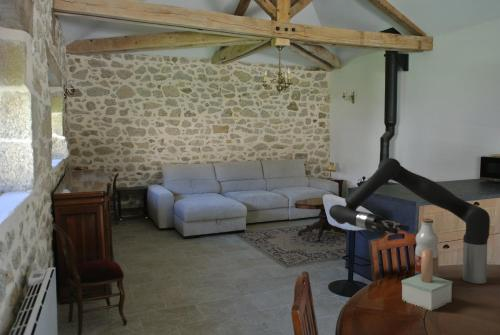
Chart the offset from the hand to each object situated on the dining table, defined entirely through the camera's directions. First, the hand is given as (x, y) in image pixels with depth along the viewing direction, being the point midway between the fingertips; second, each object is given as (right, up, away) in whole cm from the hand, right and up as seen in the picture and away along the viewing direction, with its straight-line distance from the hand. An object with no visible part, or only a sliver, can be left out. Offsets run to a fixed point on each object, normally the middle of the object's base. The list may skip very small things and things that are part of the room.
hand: (403, 230), depth 157 cm
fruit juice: (+16, -26, +15) cm, 34 cm away
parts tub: (+7, -27, -7) cm, 28 cm away
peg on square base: (+6, -21, -7) cm, 23 cm away
